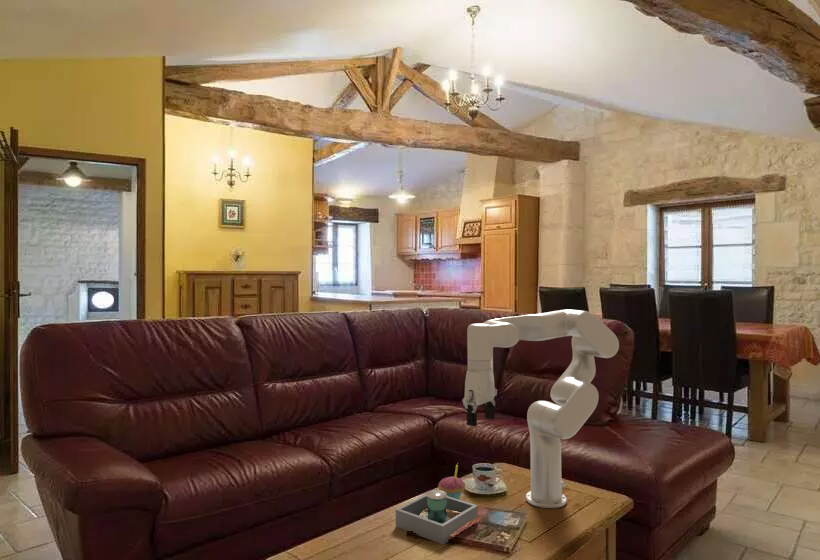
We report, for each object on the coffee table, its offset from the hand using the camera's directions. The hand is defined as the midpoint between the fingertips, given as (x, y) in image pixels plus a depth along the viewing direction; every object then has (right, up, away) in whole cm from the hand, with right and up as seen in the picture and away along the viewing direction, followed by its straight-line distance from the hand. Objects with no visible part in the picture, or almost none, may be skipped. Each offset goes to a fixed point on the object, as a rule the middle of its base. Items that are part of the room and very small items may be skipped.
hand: (480, 422), depth 169 cm
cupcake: (-8, -28, +13) cm, 32 cm away
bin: (-13, -29, -5) cm, 32 cm away
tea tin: (-13, -28, -5) cm, 31 cm away
